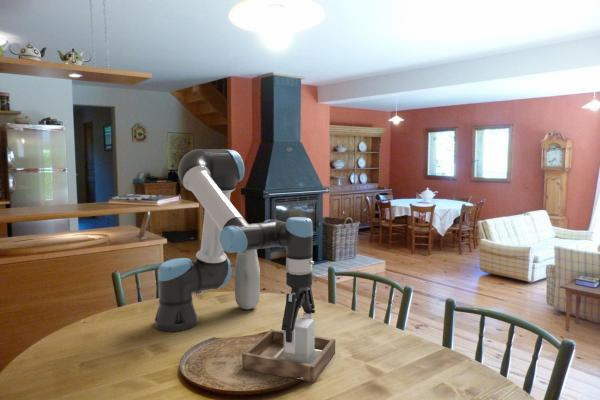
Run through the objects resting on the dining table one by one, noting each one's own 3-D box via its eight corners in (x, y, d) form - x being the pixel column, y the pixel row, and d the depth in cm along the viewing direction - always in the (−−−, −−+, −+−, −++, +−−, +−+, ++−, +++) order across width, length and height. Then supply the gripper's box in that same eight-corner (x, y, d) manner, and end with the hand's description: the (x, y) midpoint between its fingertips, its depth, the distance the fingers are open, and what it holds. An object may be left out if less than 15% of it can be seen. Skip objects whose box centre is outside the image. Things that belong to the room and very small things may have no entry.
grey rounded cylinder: (233, 305, 187) (232, 238, 184) (258, 303, 190) (257, 237, 187) (236, 313, 178) (235, 242, 175) (262, 311, 180) (261, 241, 177)
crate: (242, 368, 132) (242, 353, 131) (271, 342, 150) (271, 329, 150) (313, 382, 124) (314, 366, 123) (335, 353, 142) (335, 339, 142)
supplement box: (315, 360, 136) (315, 319, 134) (306, 371, 129) (307, 328, 127) (292, 356, 138) (292, 316, 137) (282, 367, 131) (282, 324, 130)
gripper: (295, 284, 117) (295, 363, 119) (325, 263, 141) (324, 329, 143) (269, 281, 120) (269, 358, 122) (302, 260, 143) (302, 326, 145)
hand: (299, 343), depth 132 cm, fingers open, 13 cm apart
